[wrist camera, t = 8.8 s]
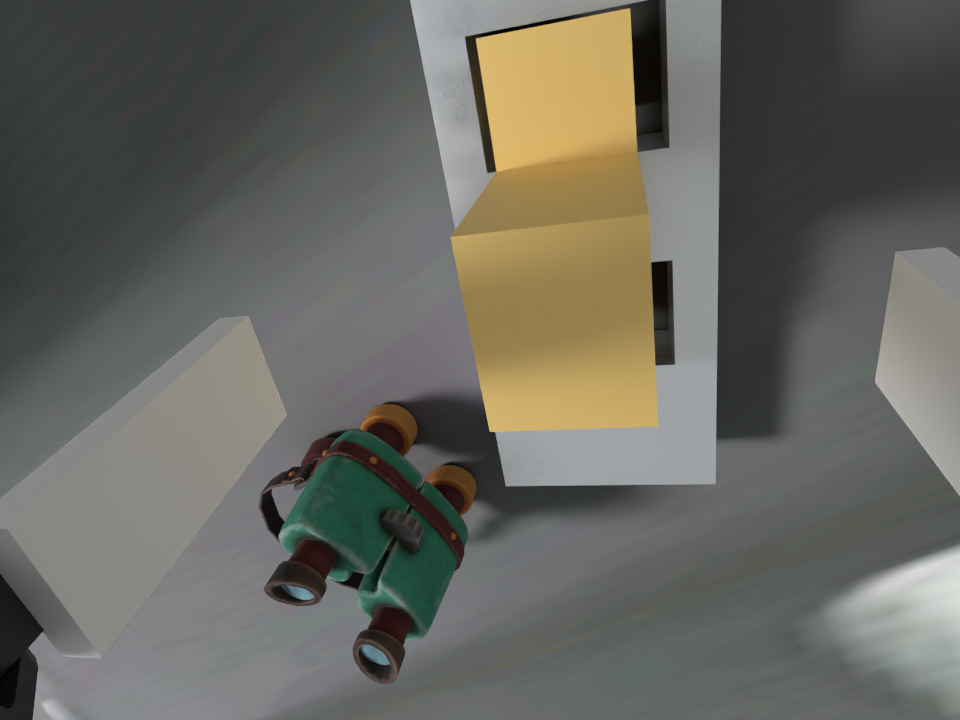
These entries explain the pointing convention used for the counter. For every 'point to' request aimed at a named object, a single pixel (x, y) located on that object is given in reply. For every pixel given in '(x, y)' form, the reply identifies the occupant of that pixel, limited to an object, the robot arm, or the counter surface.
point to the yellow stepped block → (561, 234)
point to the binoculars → (372, 533)
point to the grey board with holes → (672, 218)
